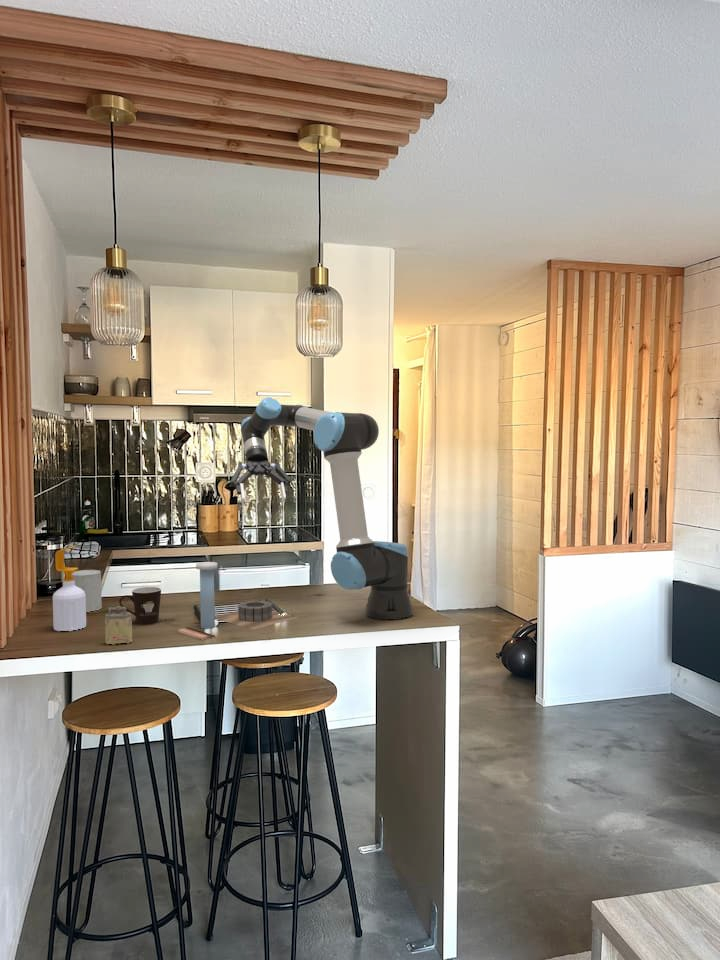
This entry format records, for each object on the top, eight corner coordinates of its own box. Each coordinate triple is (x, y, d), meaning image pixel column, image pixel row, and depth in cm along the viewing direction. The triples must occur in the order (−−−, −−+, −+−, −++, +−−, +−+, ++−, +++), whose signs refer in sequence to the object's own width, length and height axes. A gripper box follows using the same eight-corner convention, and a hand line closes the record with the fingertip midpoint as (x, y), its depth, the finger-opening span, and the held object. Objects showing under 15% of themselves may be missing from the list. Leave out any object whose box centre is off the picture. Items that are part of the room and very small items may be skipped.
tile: (237, 631, 205) (237, 628, 205) (202, 640, 196) (202, 637, 196) (212, 624, 213) (212, 621, 213) (178, 632, 204) (178, 629, 204)
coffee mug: (165, 618, 220) (164, 586, 219) (156, 625, 211) (156, 593, 211) (128, 618, 220) (127, 586, 220) (118, 625, 212) (117, 592, 211)
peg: (222, 628, 205) (221, 563, 204) (205, 633, 201) (204, 566, 199) (210, 625, 209) (209, 561, 208) (193, 629, 205) (192, 563, 203)
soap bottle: (76, 632, 204) (74, 548, 203) (47, 631, 205) (44, 548, 204) (92, 624, 213) (89, 543, 212) (63, 623, 214) (61, 543, 213)
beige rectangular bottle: (133, 640, 196) (132, 605, 196) (131, 644, 193) (130, 608, 192) (106, 641, 195) (105, 606, 194) (104, 645, 191) (103, 609, 191)
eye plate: (299, 622, 215) (299, 604, 215) (252, 634, 202) (252, 615, 201) (257, 611, 228) (257, 594, 228) (211, 622, 215) (211, 604, 215)
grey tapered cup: (78, 605, 237) (77, 569, 236) (106, 606, 236) (105, 569, 236) (65, 613, 227) (64, 575, 226) (94, 613, 227) (93, 575, 226)
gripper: (289, 460, 251) (299, 506, 238) (219, 461, 243) (224, 508, 230) (292, 445, 246) (302, 492, 232) (220, 446, 238) (226, 494, 225)
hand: (263, 500), depth 231 cm, fingers open, 13 cm apart
